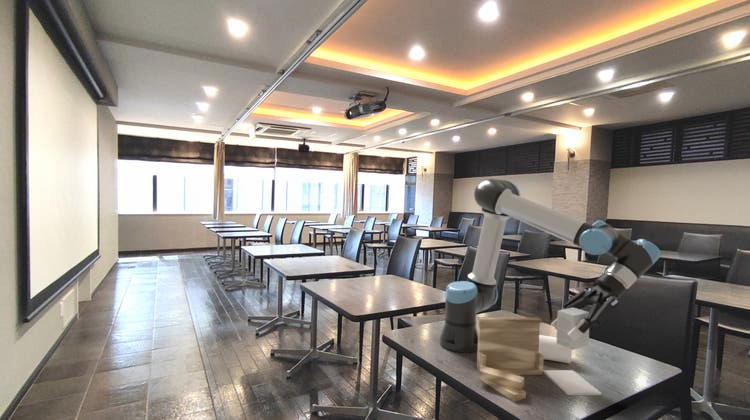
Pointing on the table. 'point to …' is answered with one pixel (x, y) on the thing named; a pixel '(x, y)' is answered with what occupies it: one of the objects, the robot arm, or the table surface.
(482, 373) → the upper pine offcut
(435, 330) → the table surface
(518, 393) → the lower pine offcut
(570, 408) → the table surface
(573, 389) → the white flat plate
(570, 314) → the small box
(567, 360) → the white rounded block
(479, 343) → the birch rack
